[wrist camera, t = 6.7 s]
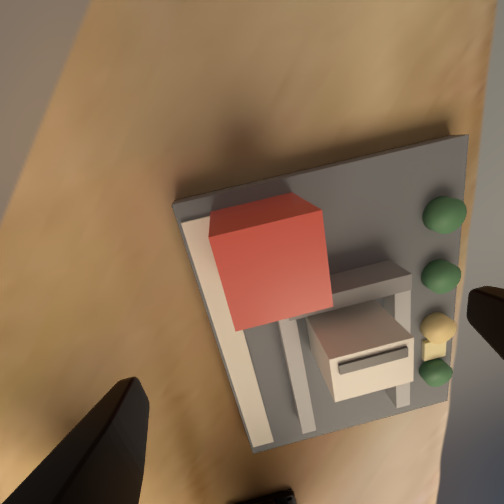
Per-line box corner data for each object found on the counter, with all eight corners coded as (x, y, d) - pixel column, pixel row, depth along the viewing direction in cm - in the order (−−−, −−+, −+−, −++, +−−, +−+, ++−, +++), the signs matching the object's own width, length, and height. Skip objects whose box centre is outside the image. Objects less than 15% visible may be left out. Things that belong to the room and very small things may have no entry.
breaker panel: (436, 388, 23) (468, 424, 20) (251, 438, 23) (256, 482, 20) (450, 135, 16) (506, 132, 13) (174, 200, 15) (164, 213, 12)
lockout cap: (303, 266, 16) (333, 306, 12) (230, 284, 16) (235, 331, 12) (291, 192, 14) (321, 210, 10) (210, 211, 14) (208, 237, 10)
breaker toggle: (373, 334, 19) (415, 383, 15) (311, 350, 18) (336, 404, 15) (371, 296, 17) (416, 339, 14) (304, 313, 17) (330, 361, 13)
